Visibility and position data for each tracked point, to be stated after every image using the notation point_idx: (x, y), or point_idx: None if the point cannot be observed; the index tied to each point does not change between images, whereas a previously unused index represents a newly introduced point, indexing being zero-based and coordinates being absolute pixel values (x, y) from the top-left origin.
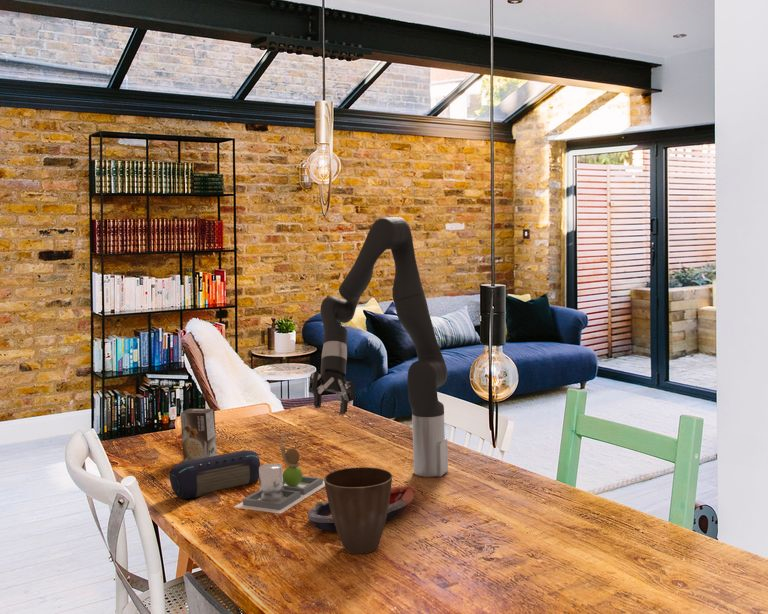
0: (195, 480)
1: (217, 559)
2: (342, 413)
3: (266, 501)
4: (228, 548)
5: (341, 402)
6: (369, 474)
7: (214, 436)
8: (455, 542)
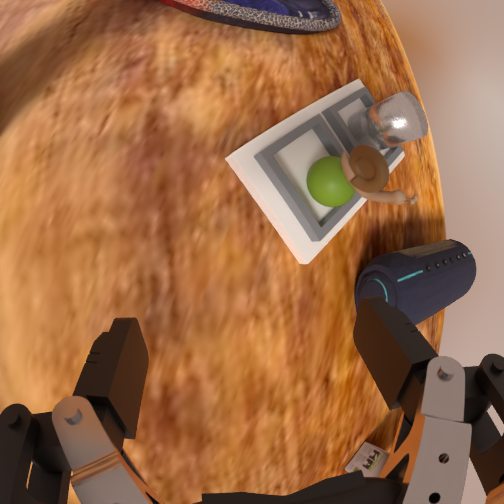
0: (451, 240)
1: (406, 58)
2: (139, 328)
3: None
4: (400, 67)
5: (129, 428)
6: None
7: None
8: None
